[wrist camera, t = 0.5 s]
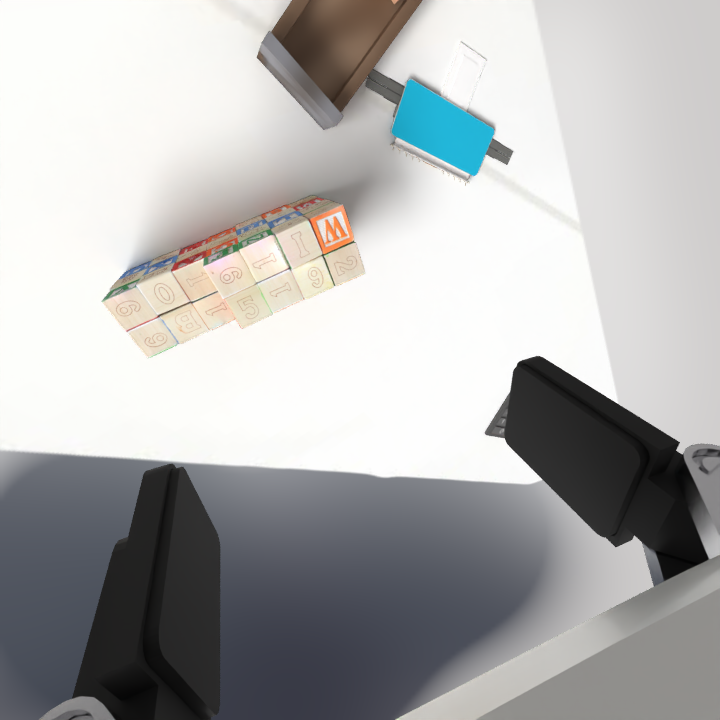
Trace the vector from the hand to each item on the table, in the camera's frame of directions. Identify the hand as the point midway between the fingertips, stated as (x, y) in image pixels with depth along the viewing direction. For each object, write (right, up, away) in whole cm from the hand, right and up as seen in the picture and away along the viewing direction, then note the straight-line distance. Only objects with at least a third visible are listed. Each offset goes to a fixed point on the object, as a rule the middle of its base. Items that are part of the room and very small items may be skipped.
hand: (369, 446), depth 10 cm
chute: (-1, +35, +23) cm, 42 cm away
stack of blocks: (-14, +14, +30) cm, 36 cm away
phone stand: (+9, +30, +31) cm, 44 cm away
